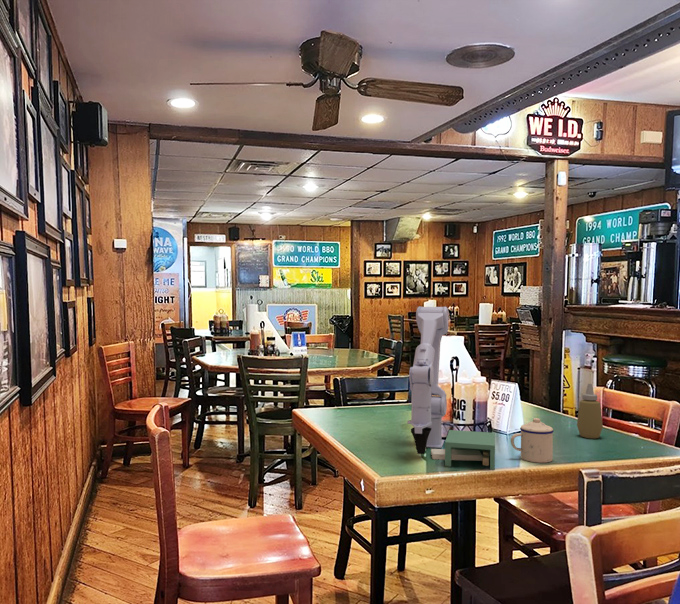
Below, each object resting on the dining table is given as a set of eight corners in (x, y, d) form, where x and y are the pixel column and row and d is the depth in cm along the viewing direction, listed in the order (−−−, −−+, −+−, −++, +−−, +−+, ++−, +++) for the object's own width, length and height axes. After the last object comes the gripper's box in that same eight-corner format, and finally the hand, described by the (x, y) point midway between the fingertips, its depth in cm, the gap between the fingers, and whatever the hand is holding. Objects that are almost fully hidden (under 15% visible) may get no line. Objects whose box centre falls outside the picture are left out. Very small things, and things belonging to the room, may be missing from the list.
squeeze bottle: (571, 435, 189) (571, 383, 189) (587, 433, 193) (587, 381, 193) (591, 440, 182) (592, 386, 182) (608, 438, 185) (608, 384, 186)
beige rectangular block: (430, 455, 164) (430, 448, 164) (478, 456, 163) (478, 449, 163) (432, 461, 158) (432, 454, 158) (482, 462, 157) (482, 455, 157)
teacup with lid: (546, 454, 164) (546, 415, 164) (558, 463, 155) (558, 421, 155) (505, 454, 164) (506, 415, 164) (516, 463, 154) (516, 421, 155)
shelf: (449, 451, 167) (449, 429, 167) (494, 454, 163) (494, 432, 163) (444, 465, 151) (445, 442, 151) (494, 469, 148) (494, 445, 148)
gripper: (410, 401, 169) (410, 446, 169) (404, 410, 155) (403, 458, 155) (434, 403, 167) (433, 447, 167) (429, 411, 153) (429, 460, 153)
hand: (421, 453), depth 161 cm, fingers closed
